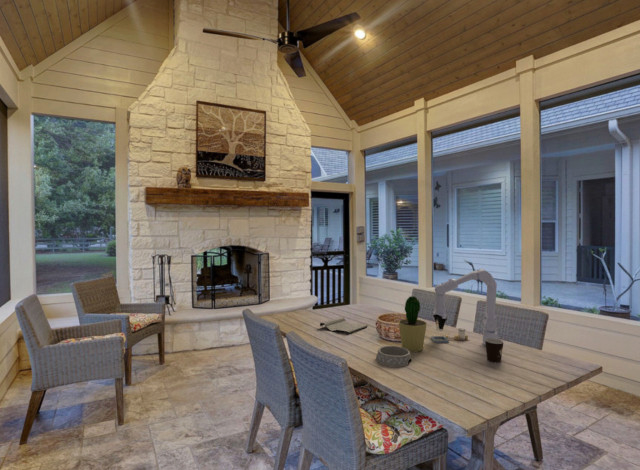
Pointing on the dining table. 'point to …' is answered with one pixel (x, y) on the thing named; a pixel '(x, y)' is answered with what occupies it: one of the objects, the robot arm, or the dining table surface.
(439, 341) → the tray
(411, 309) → the potted cactus
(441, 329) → the cylinder
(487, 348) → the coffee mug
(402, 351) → the dog bowl
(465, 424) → the dining table surface
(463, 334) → the cylinder
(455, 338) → the fuse holder
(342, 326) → the mat
